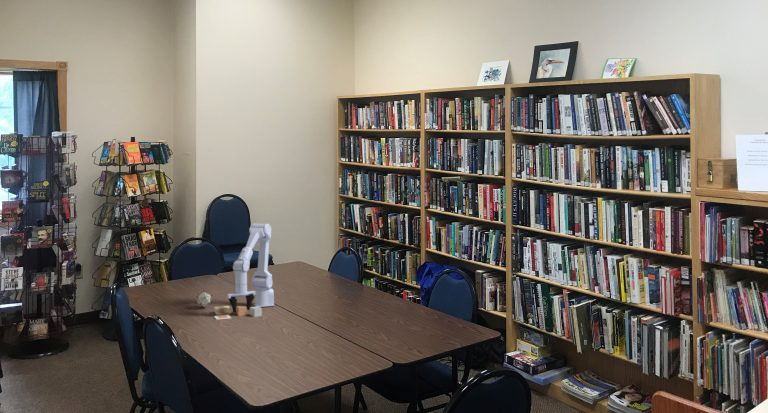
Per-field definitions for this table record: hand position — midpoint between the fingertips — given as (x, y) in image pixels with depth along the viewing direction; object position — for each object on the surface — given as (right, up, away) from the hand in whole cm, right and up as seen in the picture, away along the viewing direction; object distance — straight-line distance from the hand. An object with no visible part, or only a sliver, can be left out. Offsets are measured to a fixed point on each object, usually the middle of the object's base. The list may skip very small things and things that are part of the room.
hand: (241, 310), depth 309 cm
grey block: (+8, -2, -2) cm, 8 cm away
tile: (-8, -2, -7) cm, 11 cm away
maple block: (-11, -2, +4) cm, 11 cm away
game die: (-23, -2, +14) cm, 27 cm away
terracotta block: (0, -2, 0) cm, 2 cm away
